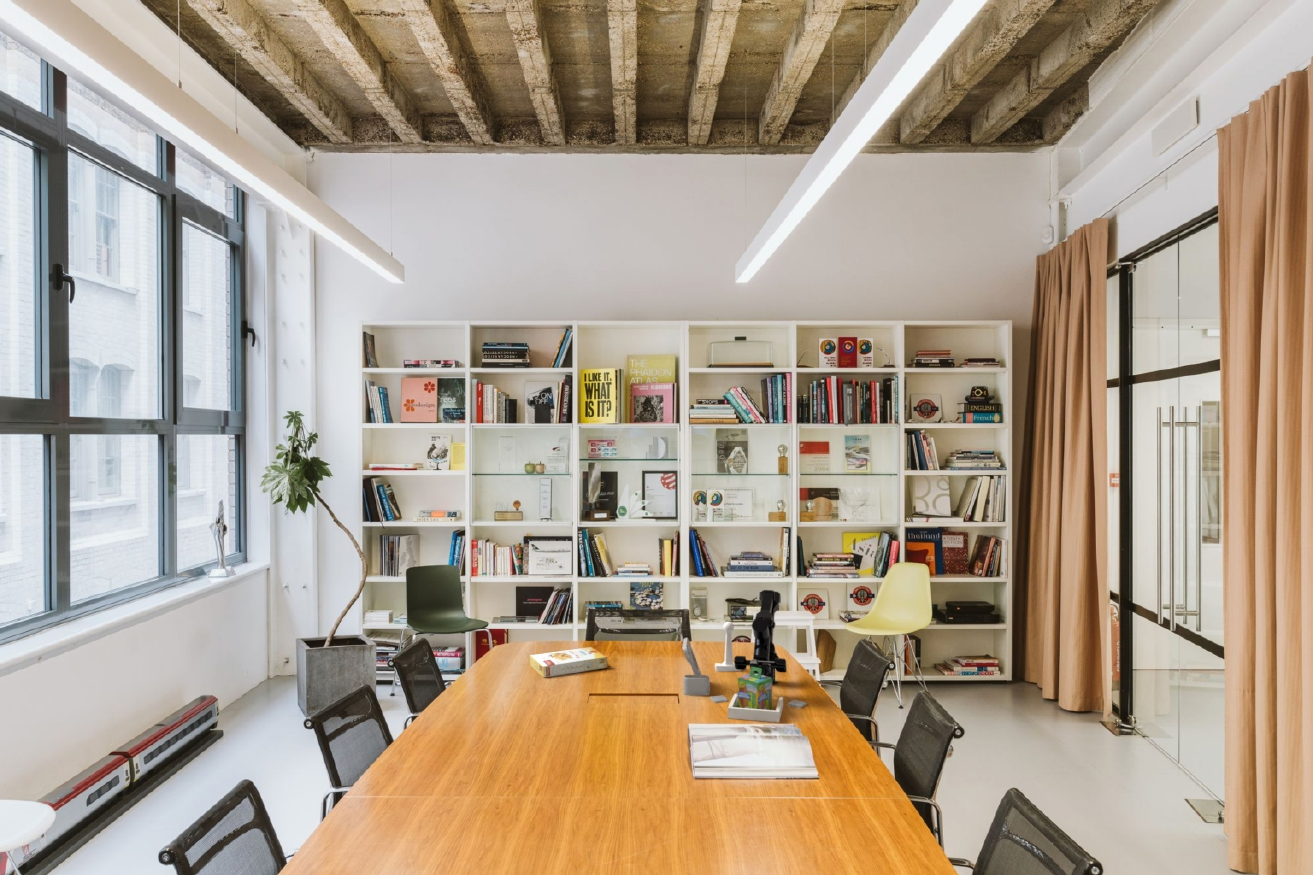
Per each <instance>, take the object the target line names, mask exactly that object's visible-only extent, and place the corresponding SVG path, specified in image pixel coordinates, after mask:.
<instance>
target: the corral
mask: <svg viewBox="0 0 1313 875" xmlns="http://www.w3.org/2000/svg"><path fill="white" fill-rule="evenodd" d="M733 694H734V695H732V698H731V700H730V702H729V705H728V707H727V718H728V719H733V720H744V721H746V720H747V721H758V722H769V723H780V720H781V717H782V712H783V711H784V710H783V708H784V696H780V697H779V698H778V701H777V705H776V708H775V710H773V709H772V710H763V709H750V708H737V700H738V693H733Z"/></svg>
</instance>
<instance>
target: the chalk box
mask: <svg viewBox="0 0 1313 875" xmlns="http://www.w3.org/2000/svg"><path fill="white" fill-rule="evenodd" d="M754 671H758V674H756V673H754ZM737 694H738V700H737V708H750V709H763V710H773V684H772V678H771V677H768V676H764V675H762V669H760V668H756V667H751V670H750V671H749V673H748V674H745V675H743V676H740V677H738V678H737Z"/></svg>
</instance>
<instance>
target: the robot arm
mask: <svg viewBox="0 0 1313 875" xmlns="http://www.w3.org/2000/svg"><path fill="white" fill-rule="evenodd" d="M758 601H759V603H760V607H759V608H760V610H759V611H758V612H757V613H756V614H755V617H754V619H753V621H752V623H751V627H752V632H753V637H754V645H753V654H752V656H753V657H752V659H751V658H750V659H747V656H746V655H736V656H734V657H733V663H735V668H736V669H737V670H742V671H745V670H746V669H747V666H748V667H749V669H750V670H751V667H756V668H760V669H762V675H764V676H768V677H771V678H772V685H774V684H778V683H779V681H778V680H776V672H777V673H787V671H788V670H787V669H788V667H787V666H788V665H787V664H788V663H787V660H786V658H784V657H783V658H782V657H781V658H780V657H779V655H778V653H777V652H776V647H775V644H774V640H773V639H774V629H775V628H776V621H775V614H776V613H777V611H778V610H779V608H780V604H781V602H782V596H781V593H780V592H779V591H775V590H773V589H763V590H761V591H759V596H758ZM753 673H756V674H758V671H754V672H753Z"/></svg>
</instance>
